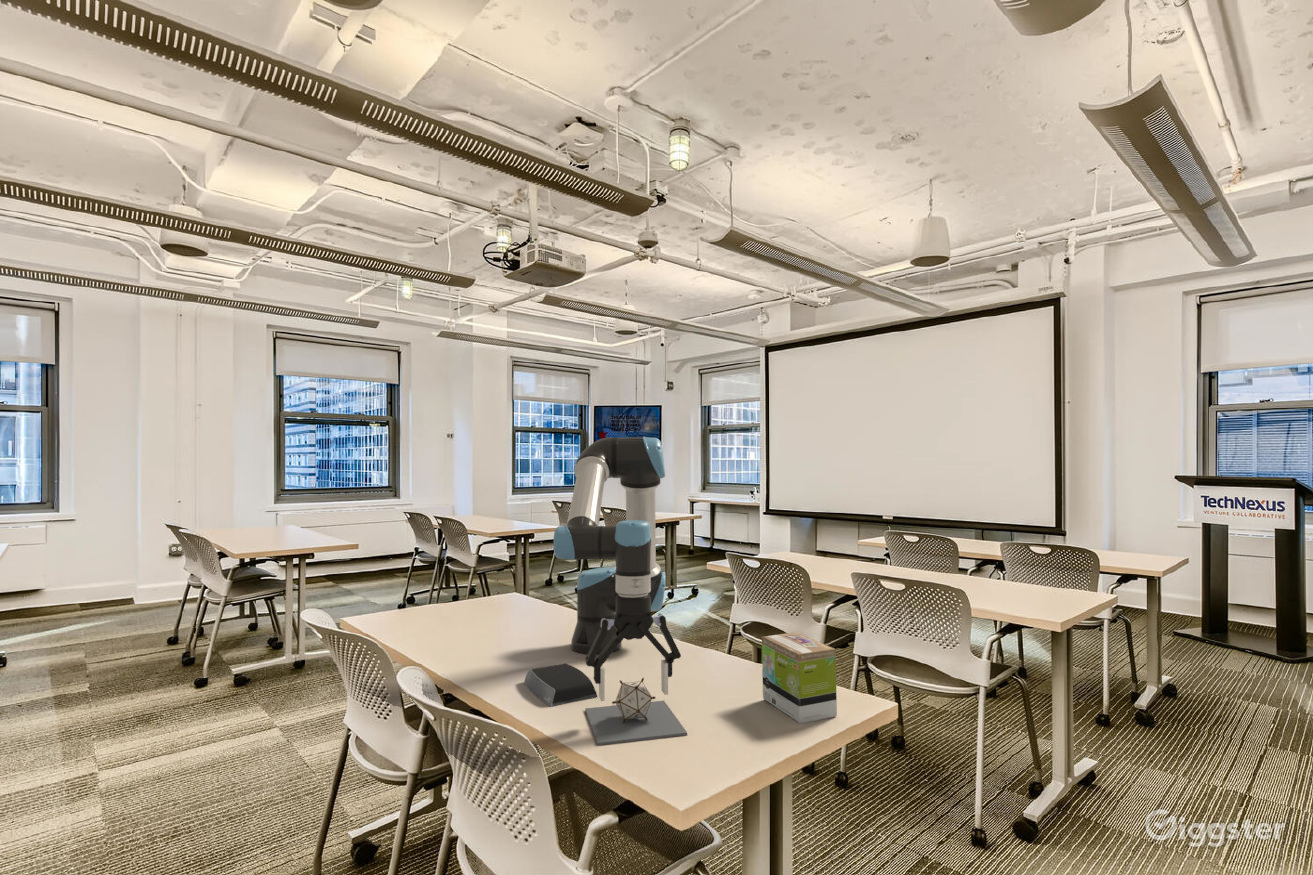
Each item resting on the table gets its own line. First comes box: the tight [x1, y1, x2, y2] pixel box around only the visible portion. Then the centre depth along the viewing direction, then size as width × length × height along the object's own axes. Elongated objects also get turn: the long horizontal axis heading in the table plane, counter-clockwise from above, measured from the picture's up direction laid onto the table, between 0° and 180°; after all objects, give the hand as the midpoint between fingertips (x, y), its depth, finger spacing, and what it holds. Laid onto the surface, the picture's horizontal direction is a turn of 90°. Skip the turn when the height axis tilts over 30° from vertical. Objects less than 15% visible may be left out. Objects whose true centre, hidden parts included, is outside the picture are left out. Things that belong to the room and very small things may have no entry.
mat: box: [584, 700, 688, 746], centre depth 129 cm, size 18×18×1 cm
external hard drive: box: [523, 663, 599, 707], centre depth 149 cm, size 13×19×4 cm
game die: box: [611, 677, 657, 723], centre depth 130 cm, size 9×8×10 cm
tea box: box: [761, 631, 838, 724], centre depth 137 cm, size 15×10×15 cm, turn 22°
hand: (633, 695), depth 130 cm, fingers open, 13 cm apart
